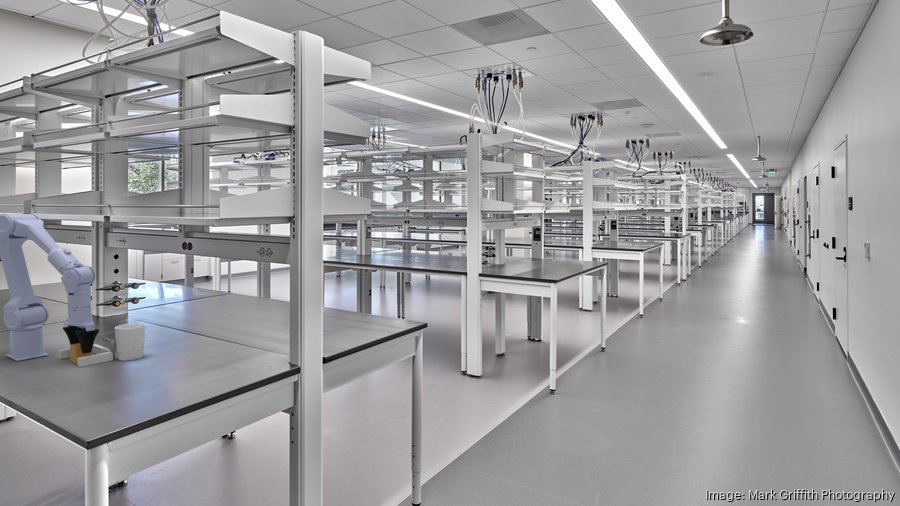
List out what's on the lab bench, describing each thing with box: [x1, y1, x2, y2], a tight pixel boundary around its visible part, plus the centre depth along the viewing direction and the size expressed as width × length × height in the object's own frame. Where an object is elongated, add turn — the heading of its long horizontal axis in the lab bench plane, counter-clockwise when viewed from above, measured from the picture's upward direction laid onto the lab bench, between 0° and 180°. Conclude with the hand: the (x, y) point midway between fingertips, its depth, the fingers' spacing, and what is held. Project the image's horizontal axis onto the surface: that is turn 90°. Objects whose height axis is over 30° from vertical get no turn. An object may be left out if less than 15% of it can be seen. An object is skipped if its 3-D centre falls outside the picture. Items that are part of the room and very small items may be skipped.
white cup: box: [114, 322, 146, 362], centre depth 155 cm, size 8×8×10 cm
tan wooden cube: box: [69, 343, 92, 364], centre depth 152 cm, size 4×4×5 cm
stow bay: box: [58, 336, 117, 368], centre depth 153 cm, size 14×10×6 cm
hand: (81, 350), depth 152 cm, fingers open, 7 cm apart
